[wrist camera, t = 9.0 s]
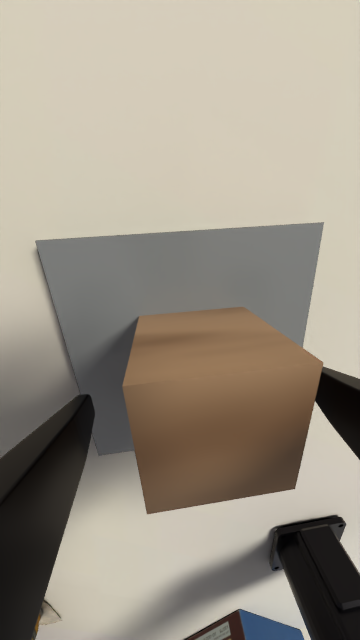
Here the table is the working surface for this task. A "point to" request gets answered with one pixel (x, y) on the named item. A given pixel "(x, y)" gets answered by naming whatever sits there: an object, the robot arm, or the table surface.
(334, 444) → the table surface
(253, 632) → the protein box
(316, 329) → the table surface
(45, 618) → the condiment
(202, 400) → the walnut cube
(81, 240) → the slate pad
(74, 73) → the table surface
